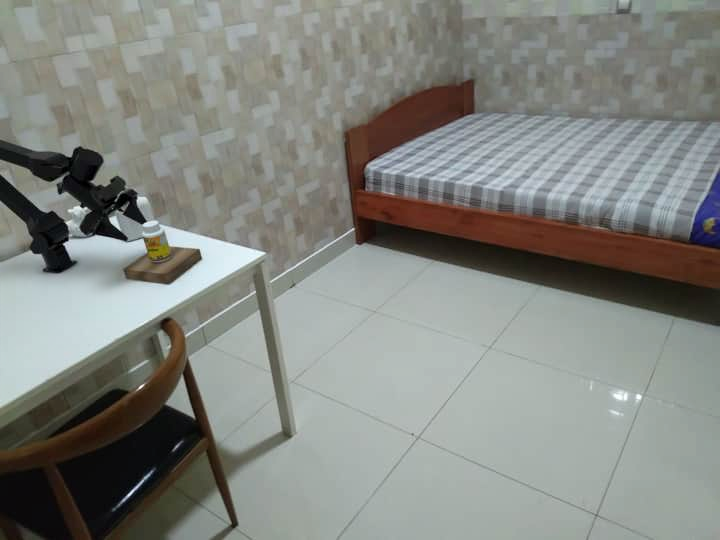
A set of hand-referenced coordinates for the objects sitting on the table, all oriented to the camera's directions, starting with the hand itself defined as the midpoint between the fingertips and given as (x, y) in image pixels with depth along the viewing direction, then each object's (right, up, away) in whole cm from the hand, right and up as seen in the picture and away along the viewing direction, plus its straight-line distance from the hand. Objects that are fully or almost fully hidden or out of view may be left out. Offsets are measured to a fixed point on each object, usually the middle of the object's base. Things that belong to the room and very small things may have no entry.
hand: (137, 232), depth 133 cm
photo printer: (-10, 0, +26) cm, 28 cm away
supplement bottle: (+5, -7, +3) cm, 9 cm away
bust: (-29, +1, +31) cm, 43 cm away
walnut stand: (+6, -9, +4) cm, 12 cm away
